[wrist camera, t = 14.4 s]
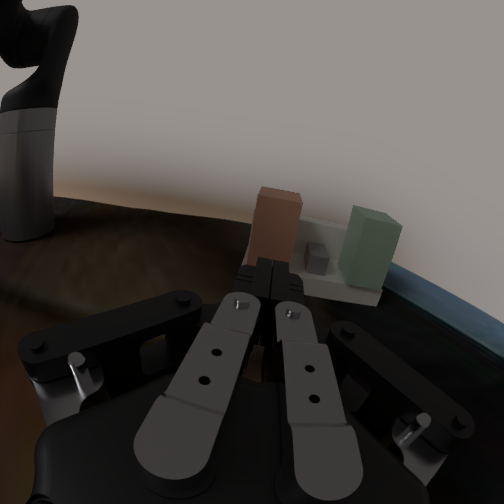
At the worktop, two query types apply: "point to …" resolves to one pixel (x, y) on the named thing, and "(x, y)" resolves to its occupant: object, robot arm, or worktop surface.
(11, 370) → the worktop surface
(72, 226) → the worktop surface
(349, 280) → the green rectangular block
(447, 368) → the worktop surface
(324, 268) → the console
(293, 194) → the terracotta rectangular block
